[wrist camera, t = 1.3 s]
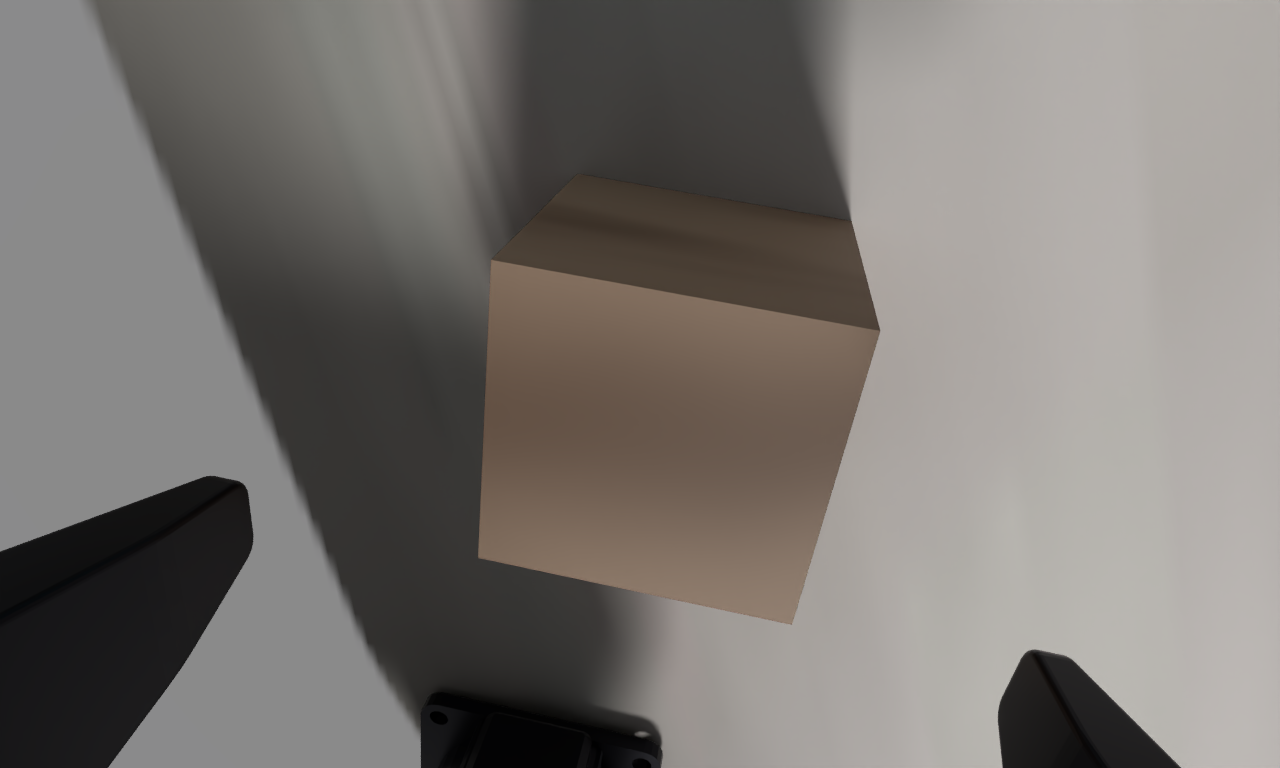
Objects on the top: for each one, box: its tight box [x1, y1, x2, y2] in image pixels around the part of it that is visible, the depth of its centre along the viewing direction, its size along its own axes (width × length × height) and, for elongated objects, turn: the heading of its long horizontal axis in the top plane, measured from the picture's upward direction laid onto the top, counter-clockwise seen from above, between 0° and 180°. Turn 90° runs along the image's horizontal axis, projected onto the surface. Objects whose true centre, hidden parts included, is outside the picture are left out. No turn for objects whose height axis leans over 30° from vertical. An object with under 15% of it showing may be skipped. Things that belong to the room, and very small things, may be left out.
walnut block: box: [478, 174, 880, 625], centre depth 14 cm, size 5×5×5 cm
